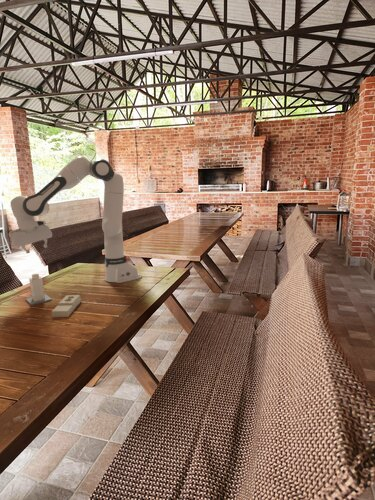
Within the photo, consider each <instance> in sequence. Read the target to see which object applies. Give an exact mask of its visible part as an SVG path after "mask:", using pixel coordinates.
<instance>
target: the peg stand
mask: <svg viewBox="0 0 375 500" xmlns="http://www.w3.org/2000/svg"><path fill="white" fill-rule="evenodd" d="M44 294H45V299H43V300H39V301H34V300H33V299H32V296H31V297H27V298H25V302H27V303H28V304H29V305H30V307H31V306H36V305H40V304H43V303H47V302H51V301H53V299H52V298H51V297H50V296H49V295H48V294H47V293H44Z"/></svg>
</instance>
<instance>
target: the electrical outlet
mask: <svg viewBox="0 0 375 500" xmlns="http://www.w3.org/2000/svg"><path fill="white" fill-rule="evenodd" d="M80 303H82V299H81V294H69V295H68V294H66V295H65V296H64V297H63V298H62V299H60V301H59V302H58V304H57V305H56V307H55V308H53V309H52V311H51V317H52V318H65V317H67V318H68V317H69V316H71V314H72V313H73V312H74V311H75V309H76V308H77V307H78V306H79V305H80Z"/></svg>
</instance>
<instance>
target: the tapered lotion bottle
mask: <svg viewBox="0 0 375 500" xmlns="http://www.w3.org/2000/svg"><path fill="white" fill-rule="evenodd" d="M28 280H29V286H30V293H31V297H32V299H33V300H34V301H39V300H43V299H45V294H46V293H45V289H44V288H45V287H44V280H43V278H42V277H41V276H40V275H39V274H38V273H34V274H32V275H31V277H30V278H29V279H28Z"/></svg>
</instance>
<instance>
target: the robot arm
mask: <svg viewBox="0 0 375 500" xmlns="http://www.w3.org/2000/svg"><path fill="white" fill-rule="evenodd" d="M87 176H88V177H89V176H91V177H93V178H95V179H97V180H101V181H103V183H104V192H103V193H104V195H103V209H102V218H101V219H102V220H101V221H102V222H101V229H102V231H103V233H104V234H103V237H104V238H103V239H104V240H103V241H104V243H103V244H104V254H105V257H104V265H105V275H104V281H105V282H107V283H108V282H109V283H115V284H122V283H127V282H130V281H131V282H132V281H134V280H139V279H140V280H141V278H143V277H142V274H141V273H140V272H138V269H137V267H136V265H134V264H133V263H132V262H129V261H130V257H128V256H127V255H125V254H124V253H125V252H124V235H123V211H124V210H123V209H124V208H123V207H124V194H125V193H124V192H125V187H124V179H123V176H122V175H121V174H120V173H117V172H115V171H114V169H113V167H112V165H111V163H110V162H109V161H108V160H106V159H104V158H98V159H95V160H92V161H90V160H88V158H86V157H84V156H82V155H80V156H76V157H75V158H74V159H72V160H71V161H69V162H68V163H67V164H66V165H65V166H64V167H63V168H62V169H61V170H60V171H59V172H58V173H57V175H55V176H54V178H52V180H51V181H49V182H48V183H47V184H46V185H45V186H44V187H43V188H41V189H40V190H39V191H38V192H36V193H35V194H32V195H29V196H26V195H25V196H24V195H19V196H16V197H14V198H13V199H11V201H10V208H11V211H12V215H13V217H15V220H16V225H17V227H18V228H17V229H12V230H11V231H9V232H8V237H9V239H10V240H11V243H12V247H14V248H15V249H17V248H19V247H21V249H22V250H24V251H25V253H26V254H30V253H31V251H30V249H27V248H26V246H27V245H31V244H34V243H36V242H40V241H44V244H43V247H44V249H46V248H48V245H47V244H48V239H50V238H52V237H53V232H52V230H51V228H50V227H49V226H48V225H46V221H45V220H36V219H35V217H43V216H46V215H47V214H48V213H49V211H50V204H49V201H50V200H51V199H52V198H54V197H55V196H56V195H57V194H59V193H60V192H63V191H65V190H71V189H73V188H75V187H76V186H77V185H79V184H80V183H81V182H82V181H83V180H84V179H85V178H86V177H87Z"/></svg>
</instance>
